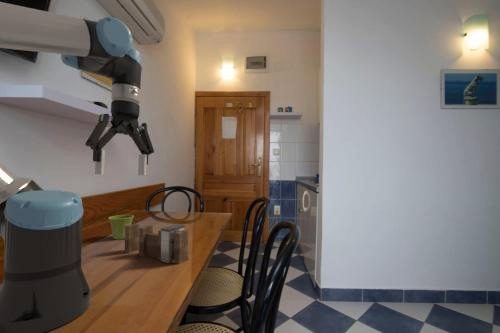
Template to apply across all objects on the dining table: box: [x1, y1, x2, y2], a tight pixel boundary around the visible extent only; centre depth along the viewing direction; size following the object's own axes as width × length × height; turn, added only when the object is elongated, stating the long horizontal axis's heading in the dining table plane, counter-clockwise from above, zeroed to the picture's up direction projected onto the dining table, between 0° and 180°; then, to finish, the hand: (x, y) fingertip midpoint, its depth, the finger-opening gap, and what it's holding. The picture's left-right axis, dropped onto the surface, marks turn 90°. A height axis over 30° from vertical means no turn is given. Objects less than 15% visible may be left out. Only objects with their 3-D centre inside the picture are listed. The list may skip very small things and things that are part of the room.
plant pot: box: [108, 214, 135, 240], centre depth 104 cm, size 9×9×9 cm
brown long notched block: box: [124, 223, 189, 265], centre depth 82 cm, size 4×24×9 cm, turn 65°
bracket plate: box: [160, 223, 185, 264], centre depth 79 cm, size 7×3×10 cm, turn 155°
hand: (122, 175), depth 73 cm, fingers open, 13 cm apart
